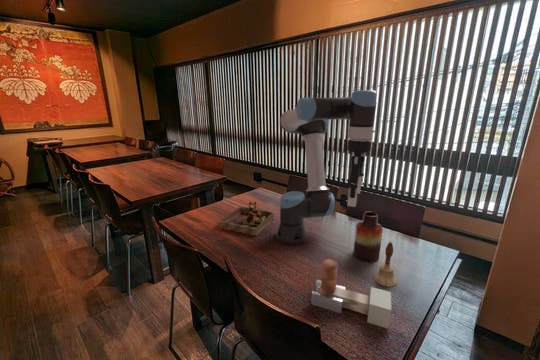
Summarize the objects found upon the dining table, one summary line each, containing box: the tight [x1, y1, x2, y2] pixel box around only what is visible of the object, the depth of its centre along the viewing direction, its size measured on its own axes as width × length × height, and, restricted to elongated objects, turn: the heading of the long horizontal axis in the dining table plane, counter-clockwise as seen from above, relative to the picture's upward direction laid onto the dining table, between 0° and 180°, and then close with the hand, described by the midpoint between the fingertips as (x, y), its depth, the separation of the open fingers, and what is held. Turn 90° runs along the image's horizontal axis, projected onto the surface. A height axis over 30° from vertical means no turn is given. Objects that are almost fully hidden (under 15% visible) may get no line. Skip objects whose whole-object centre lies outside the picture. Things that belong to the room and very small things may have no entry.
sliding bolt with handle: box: [320, 258, 370, 316], centre depth 82 cm, size 20×5×14 cm, turn 66°
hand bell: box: [373, 241, 398, 288], centre depth 95 cm, size 8×8×16 cm
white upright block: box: [366, 286, 392, 330], centre depth 80 cm, size 6×8×7 cm
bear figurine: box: [242, 201, 266, 228], centre depth 142 cm, size 14×15×12 cm
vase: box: [353, 211, 384, 263], centre depth 110 cm, size 11×11×20 cm
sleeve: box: [310, 279, 346, 314], centre depth 87 cm, size 10×7×5 cm
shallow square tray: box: [218, 205, 275, 237], centre depth 144 cm, size 23×23×4 cm
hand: (353, 199), depth 90 cm, fingers open, 13 cm apart
